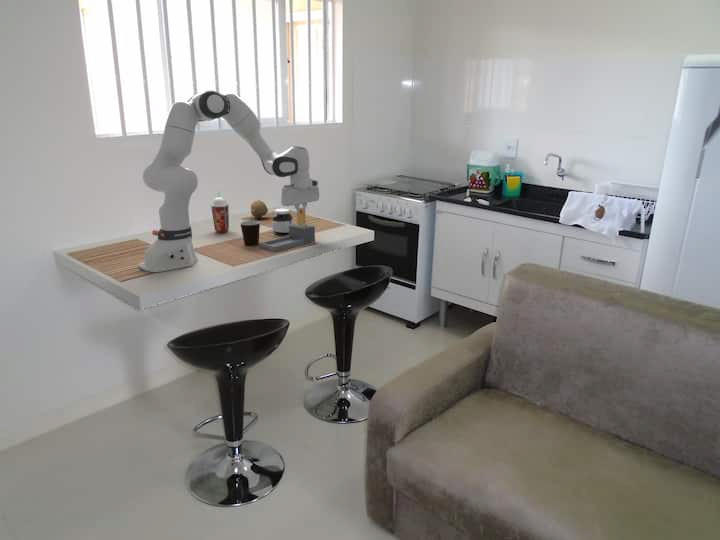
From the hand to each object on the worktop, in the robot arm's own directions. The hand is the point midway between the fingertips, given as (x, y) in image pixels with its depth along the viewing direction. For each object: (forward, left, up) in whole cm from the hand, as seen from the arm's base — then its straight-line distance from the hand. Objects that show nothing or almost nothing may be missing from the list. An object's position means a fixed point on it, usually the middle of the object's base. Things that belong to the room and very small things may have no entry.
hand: (301, 213), depth 245 cm
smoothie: (-15, +42, -13) cm, 47 cm away
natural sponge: (+16, +52, -13) cm, 56 cm away
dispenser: (-8, 0, -13) cm, 15 cm away
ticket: (0, 0, -7) cm, 7 cm away
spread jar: (+4, +19, -13) cm, 24 cm away
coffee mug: (-18, +13, -13) cm, 26 cm away
